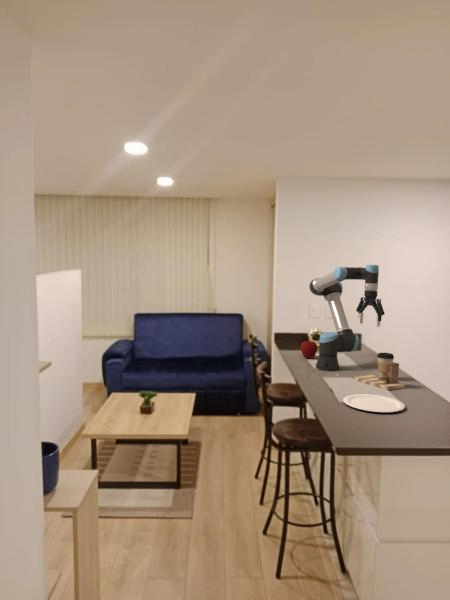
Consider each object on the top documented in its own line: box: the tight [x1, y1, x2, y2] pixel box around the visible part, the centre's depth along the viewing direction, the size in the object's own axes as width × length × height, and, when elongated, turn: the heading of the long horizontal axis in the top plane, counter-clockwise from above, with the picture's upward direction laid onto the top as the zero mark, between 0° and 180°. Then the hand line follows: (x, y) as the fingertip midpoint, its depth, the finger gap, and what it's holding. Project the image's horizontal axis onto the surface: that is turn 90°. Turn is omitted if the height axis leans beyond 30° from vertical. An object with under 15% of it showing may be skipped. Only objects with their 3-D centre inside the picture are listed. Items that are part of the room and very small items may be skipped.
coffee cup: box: [377, 352, 395, 377], centre depth 289 cm, size 10×10×15 cm
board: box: [352, 373, 406, 391], centre depth 276 cm, size 26×14×2 cm, turn 31°
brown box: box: [378, 361, 400, 384], centre depth 271 cm, size 6×12×11 cm, turn 121°
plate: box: [342, 393, 406, 414], centre depth 235 cm, size 29×29×2 cm
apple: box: [300, 340, 318, 360], centre depth 343 cm, size 12×12×13 cm
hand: (369, 324), depth 292 cm, fingers open, 13 cm apart
